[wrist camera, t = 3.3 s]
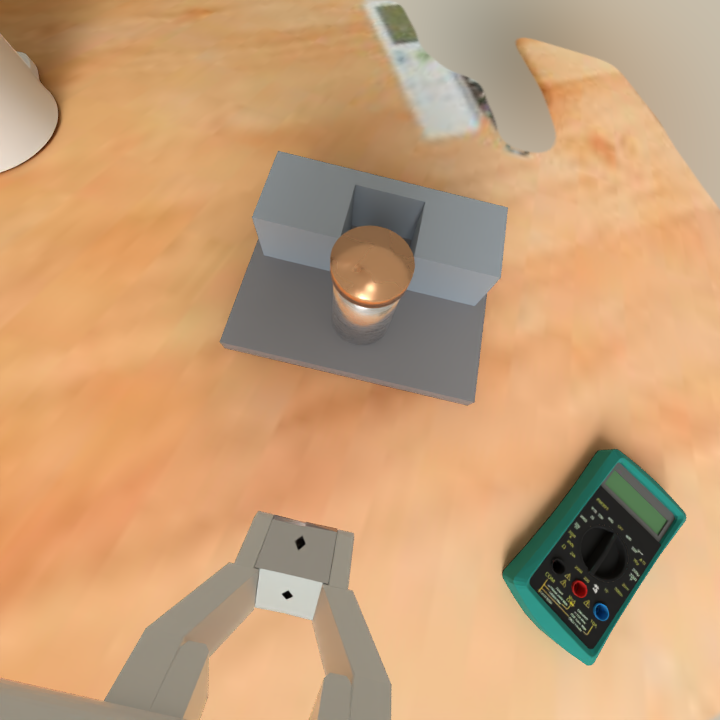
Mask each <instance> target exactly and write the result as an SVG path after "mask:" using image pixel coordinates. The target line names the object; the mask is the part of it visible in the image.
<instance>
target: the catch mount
mask: <svg viewBox="0 0 720 720" xmlns="http://www.w3.org/2000/svg"><path fill="white" fill-rule="evenodd" d="M507 211H508V207H503V206H499V205H495V204H491V203H487V202H483V201H479V200H475V199H471V198H467V197H463V196H459V195H455V194H451V193H447V192H443V191H439V190H435V189H430V188H426V187H422V186H418V185H414V184H410V183H406V182H402V181H398V180H394V179H390V178H386V177H382V176H378V175H374V174H370V173H366V172H362V171H357V170H353V169H349V168H345V167H341V166H337V165H333V164H329V163H325V162H321V161H317V160H313V159H309V158H305V157H301V156H297V155H293V154H288V153H284V152H280V151H278V153H277V155H276V158H275V160H274V163H273V165H272V168H271V170H270V173H269V175H268V178H267V181H266V183H265V186H264V188H263V191H262V193H261V196H260V198H259V201H258V203H257V206H256V209H255V211H254V214H253V216H252V219H253V222H254V225H255V228H256V232H257V235H258V238H259V239H258V241H257V244H256V247H255V249H254V252H253V255H252V257H251V260H250V263H249V265H248V268H247V271H246V273H245V276H244V278H243V281H242V284H241V286H240V289H239V292H238V294H237V297H236V300H235V302H234V305H233V308H232V310H231V313H230V316H229V318H228V321H227V324H226V326H225V329H224V332H223V334H222V337H221V340H220V343H221V344H222V345H223V346H224V348H227V349H231V350H236V351H240V352H244V353H248V354H253V355H257V356H261V357H265V358H270V359H274V360H278V361H282V362H286V363H291V364H295V365H299V366H303V367H308V368H312V369H316V370H320V371H324V372H329V373H333V374H337V375H341V376H346V377H350V378H354V379H358V380H362V381H367V382H371V383H375V384H379V385H384V386H388V387H392V388H396V389H401V390H405V391H409V392H413V393H417V394H422V395H426V396H430V397H434V398H439V399H443V400H447V401H451V402H455V403H460V404H464V405H469V404H472V403H474V401H475V393H476V384H477V375H478V367H479V358H480V349H481V341H482V332H483V323H484V315H485V306H486V297H487V292H488V291H489V290H490V289H491V288H492V287H493V286H494V284H495V283H496V282H497V281H498V280H499V279H500V278H501V269H502V260H503V250H504V240H505V230H506V221H507ZM370 225H371V226H379V227H383V228H387V229H389V230H391V231H393V232H395V233H396V234H398V235H399V236H400V237H402V238H403V239H404V240H405V241H406V243H407V244H408V245H409V247H410V249H411V251H412V253H413V256H414V261H415V269H414V274H413V277H412V279H411V281H410V284H409V286H408V288H407V290H406V292H405V293H404V295H403V296H402V297H401V298H400V300H399V302H398V304H397V307H396V309H395V311H394V314H393V316H392V319H391V321H390V323H389V326H388V328H387V330H386V332H385V334H384V335H383V336H382V337H381V338H380V339H379V340H378V341H376V342H374V343H372V344H368V345H355V344H351V343H349V342H347V341H345V340H344V339H342V338H341V337H340V336H339V335H338V333H337V332H336V330H335V328H334V326H333V321H332V305H333V283H332V280H331V275H330V256H331V251H332V248H333V246H334V244H335V242H336V241H337V240H338V239H339V238H340V237H341V236H342V235H343V234H344V233H346V232H347V231H349V230H351V229H353V228H356V227H360V226H370Z"/></svg>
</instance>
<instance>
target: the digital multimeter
mask: <svg viewBox="0 0 720 720" xmlns="http://www.w3.org/2000/svg"><path fill="white" fill-rule="evenodd" d="M596 490H597V491H596ZM593 494H594V495H593ZM592 495H593V496H592ZM590 498H591V499H590ZM589 499H590V500H589ZM587 502H588V503H587ZM586 503H587V504H586ZM584 506H585V507H584ZM583 507H584V508H583ZM581 510H582V511H581ZM580 511H581V512H580ZM578 514H579V515H578ZM577 515H578V516H577ZM574 519H575V520H574ZM685 521H686V514H685V513H684V511H683V510H682V509H681V508H680V507H679V505H678V504H677V503H676V502H675V501H674V500H673V499H672V498H671V497H670V496H669V495H668V494H667V492H666V491H665V490H664V489H663V488H662V487H661V486H660V485H659V484H658V483H657V482H656V481H655V480H654V479H653V478H651V477H650V476H649V475H648V474H647V473H646V472H645V471H644V470H643V469H641V468H640V467H639V466H638V465H637V464H636V463H634V462H633V461H632V460H631V459H629V458H628V457H627V456H626V455H624V454H623V453H622V452H621V451H619V450H617V449H612V450H599V451H597V453H596V454H595V455H594V457H593V458H592V460H591V461H590V463H589V464H588V466H587V467H586V469H585V470H584V471H583V473H582V474H581V476H580V477H579V479H578V480H577V482H576V483H575V485H574V486H573V487H572V489H571V490H570V491H569V493H568V494H567V495H566V497H565V498H564V499H563V501H562V502H561V503H560V504H559V506H558V507H557V508H556V510H555V511H554V512H553V514H552V515H551V516H550V517H549V519H548V520H547V521H546V522H545V523H544V525H543V526H542V527H541V528H540V529H539V531H538V532H537V533H536V534H535V535H534V536H533V538H532V539H531V540H530V541H529V542H528V544H527V545H526V546H525V547H524V548H523V549H522V550H521V552H520V553H519V554H518V555H517V556H516V557H515V558H514V559H513V560H512V562H511V563H510V564H509V565H508V566H507V567H506V568H505V569H504V571H503V579H504V580H505V582H506V584H507V586H508V587H509V589H510V591H511V593H512V594H513V596H514V598H515V599H516V601H517V602H518V604H519V605H520V606H521V608H522V609H523V611H524V612H525V614H526V615H527V616H528V617H529V618H530V619H531V620H532V621H533V623H534V624H535V625H536V626H537V627H538V628H539V629H540V630H541V631H543V632H544V633H545V634H546V635H547V636H549V637H550V638H551V639H552V640H554V641H555V642H556V643H557V644H559V645H560V646H561V647H562V648H564V649H565V650H566V651H568V652H569V653H570V654H572V655H573V656H575V657H576V658H577V659H579V660H580V661H582V662H583V663H585V664H586V665H592V664H593V663H594V662H595V660H596V658H597V657H598V655H599V653H600V651H601V649H602V648H603V646H604V644H605V642H606V640H607V639H608V637H609V635H610V633H611V631H612V630H613V628H614V626H615V624H616V623H617V621H618V620H619V618H620V616H621V615H622V613H623V612H624V610H625V608H626V607H627V605H628V604H629V602H630V600H631V599H632V597H633V596H634V594H635V592H636V591H637V589H638V588H639V586H640V585H641V583H642V582H643V580H644V579H645V577H646V575H647V574H648V572H649V571H650V569H651V568H652V566H653V565H654V563H655V562H656V560H657V559H658V557H659V556H660V554H661V553H662V552H663V550H664V549H665V548H666V546H667V545H668V544H669V542H670V541H671V540H672V538H673V537H674V535H675V534H676V533H677V531H678V530H679V529H680V527H681V526H682V525H683V523H684V522H685ZM571 523H572V524H571ZM570 524H571V525H570ZM604 525H605V526H604ZM568 527H569V528H568ZM567 528H568V529H567ZM565 531H566V532H565ZM564 532H565V533H564ZM617 533H618V534H617ZM562 535H563V536H562ZM561 536H562V537H561ZM621 538H622V539H621ZM559 539H560V540H559ZM558 540H559V541H558ZM556 543H557V544H556ZM624 543H625V544H624ZM555 544H556V545H555ZM553 547H554V548H553ZM552 548H553V549H552ZM626 548H627V549H626ZM550 551H551V552H550ZM549 552H550V553H549ZM627 552H628V553H627ZM540 564H541V565H540ZM537 568H538V569H537ZM534 572H535V573H534ZM531 576H532V577H531ZM603 581H604V582H603ZM613 581H614V582H613Z"/></svg>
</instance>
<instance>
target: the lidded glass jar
mask: <svg viewBox="0 0 720 720" xmlns="http://www.w3.org/2000/svg"><path fill="white" fill-rule="evenodd" d="M414 269H415V261H414V256H413V253H412V251H411V249H410V247H409V245H408V244H407V243H406V241H405V240H404V239H403V238H402V237H400V236H399V235H398V234H396V233H395V232H393V231H391V230H389V229H387V228H383V227H379V226H371V225H370V226H360V227H356V228H353V229H351V230H349V231H347V232H346V233H344V234H343V235H342V236H341V237H340V238H339V239H338V240H337V241H336V242H335V244H334V246H333V248H332V251H331V256H330V275H331V280H332V283H333V305H332V321H333V326H334V328H335V330H336V332H337V333H338V335H339V336H340V337H341V338H342V339H344V340H345V341H347V342H349V343H351V344H355V345H368V344H372V343H374V342H376V341H378V340H379V339H380V338H381V337H382V336H383V335H384V334H385V332H386V330H387V328H388V326H389V323H390V321H391V319H392V316H393V314H394V311H395V309H396V307H397V304H398V302H399V300H400V298H401V297H402V296H403V295H404V293H405V292H406V290H407V288H408V286H409V284H410V281H411V279H412V277H413V274H414Z"/></svg>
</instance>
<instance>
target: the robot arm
mask: <svg viewBox="0 0 720 720" xmlns="http://www.w3.org/2000/svg"><path fill="white" fill-rule="evenodd" d="M57 121H58V108H57V104H56V101H55V99H54V97H53V96H52V94H51V93H50V92H49V91H48V90H47V89H46V88H45V87H44V85H43V84H42V83H41V82H40V80H39V74H38V69H37V67H36V65H35V64H34V63H33V61H32V60H31V59H30V58H29V57H28V56H27V55H26V54H25V53H23V52H17V51H15V50H14V49H13V48H12V46H11V45H10V44H9V43H8V42H7V41H6V39H5V38H4V37H3V36H2V35H1V34H0V172H3V171H6V170H8V169H11V168H13V167H15V166H17V165H19V164H21V163H23V162H24V161H26V160H27V159H29V158H30V157H32V156H33V155H34V154H36V153H37V152H38V151H39V150H40V149H41V148H42V147H43V146H44V145H45V144H46V143H47V142H48V140H49V139H50V137H51V136H52V134H53V132H54V130H55V128H56V125H57ZM353 543H354V533H352V532H348V531H343V530H337V529H336V528H332V527H327V526H322V525H318V524H313V523H308V522H302V521H298V520H294V519H290V518H286V517H282V516H278V515H274V514H270V513H266V512H261V511H258V512H257V514H256V515H255V517H254V519H253V521H252V524H251V526H250V528H249V531H248V533H247V535H246V537H245V540H244V542H243V544H242V547H241V549H240V551H239V553H238V556H237V558H236V560H235V563H230V562H229V563H228V564H226V565H225V566H224V567H223V568H221V569H220V570H219V571H218V572H216V573H215V574H214V575H213V576H211V577H210V578H209V579H208V580H206V581H205V582H204V583H203V584H201V585H200V586H199V587H197V588H196V589H195V590H194V591H192V592H191V593H190V594H189V595H187V596H186V597H185V598H184V599H182V600H181V601H180V602H179V603H177V604H176V605H175V606H173V607H172V608H171V609H170V610H168V611H167V612H166V613H165V614H163V615H162V616H161V617H160V618H158V619H157V620H156V621H155V622H153V623H152V624H151V625H149V626H148V627H147V628H146V629H145V631H144V633H143V634H142V636H141V638H140V639H139V641H138V643H137V645H136V646H135V648H134V650H133V652H132V653H131V655H130V657H129V658H128V660H127V662H126V664H125V665H124V667H123V669H122V670H121V672H120V674H119V676H118V677H117V679H116V681H115V683H114V684H113V686H112V688H111V689H110V691H109V693H108V695H107V696H106V698H105V700H104V701H101V700H97V699H92V698H88V697H84V696H79V695H75V694H70V693H66V692H61V691H57V690H52V689H48V688H43V687H39V686H34V685H30V684H25V683H21V682H17V681H12V680H8V679H3V678H0V720H200V718H201V715H202V712H203V709H204V706H205V704H206V701H207V698H208V676H209V657H210V656H211V655H212V654H213V653H214V652H215V651H216V650H217V649H218V648H219V646H220V645H221V644H222V643H223V642H224V641H225V640H226V639H227V638H228V637H229V636H230V635H231V634H232V633H233V631H234V630H235V629H236V628H237V627H238V626H239V625H240V624H241V623H242V622H243V621H244V620H245V619H246V617H247V616H248V615H249V614H250V613H251V612H252V611H253V610H254V607H256V608H261V609H266V610H271V611H276V612H281V613H286V614H289V615H293V616H297V617H301V618H305V619H309V620H312V624H313V628H314V632H315V636H316V640H317V644H318V648H319V652H320V656H321V660H322V664H323V668H324V672H325V676H326V677H325V678H324V680H323V682H322V685H321V688H320V691H319V693H318V696H317V699H316V701H315V704H314V707H313V710H312V712H311V715H310V718H309V720H391V683H390V680H389V678H388V675H387V673H386V671H385V668H384V666H383V663H382V661H381V658H380V656H379V653H378V651H377V649H376V646H375V644H374V641H373V639H372V636H371V634H370V631H369V629H368V627H367V624H366V622H365V619H364V617H363V614H362V612H361V609H360V607H359V605H358V602H357V600H356V597H355V595H354V592H353V591H352V590H348V585H349V576H350V568H351V560H352V551H353Z"/></svg>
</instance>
